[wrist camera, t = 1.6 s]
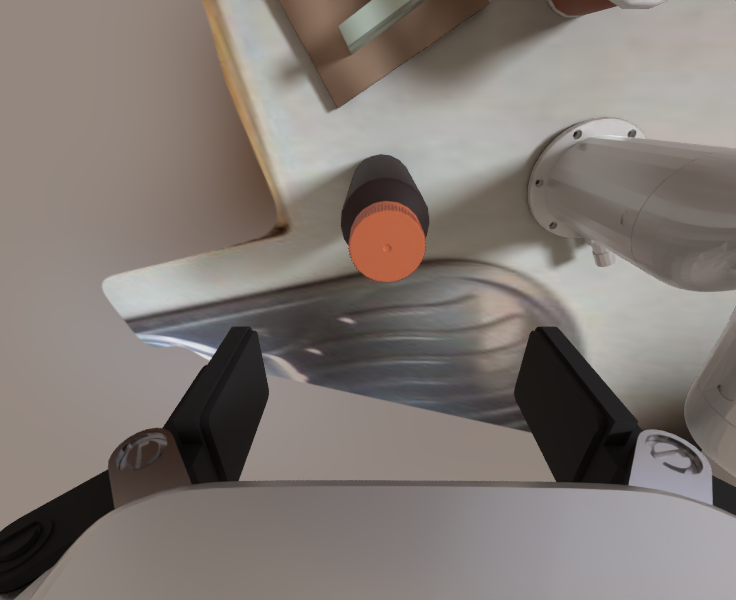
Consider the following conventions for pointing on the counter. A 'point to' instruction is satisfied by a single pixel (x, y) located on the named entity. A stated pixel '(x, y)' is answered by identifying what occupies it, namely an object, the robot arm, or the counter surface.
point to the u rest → (370, 36)
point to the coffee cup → (597, 6)
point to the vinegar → (384, 220)
